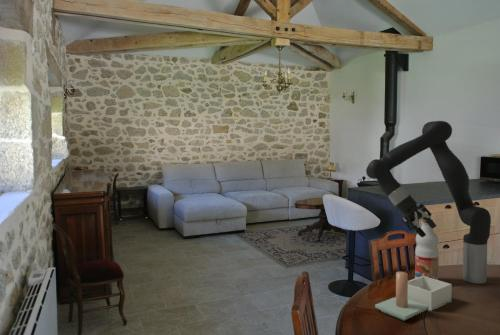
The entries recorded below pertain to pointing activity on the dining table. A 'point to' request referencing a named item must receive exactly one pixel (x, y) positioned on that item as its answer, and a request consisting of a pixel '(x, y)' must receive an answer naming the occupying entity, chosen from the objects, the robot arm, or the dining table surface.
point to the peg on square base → (401, 301)
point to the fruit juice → (426, 253)
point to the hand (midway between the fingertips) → (429, 231)
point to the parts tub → (429, 292)
